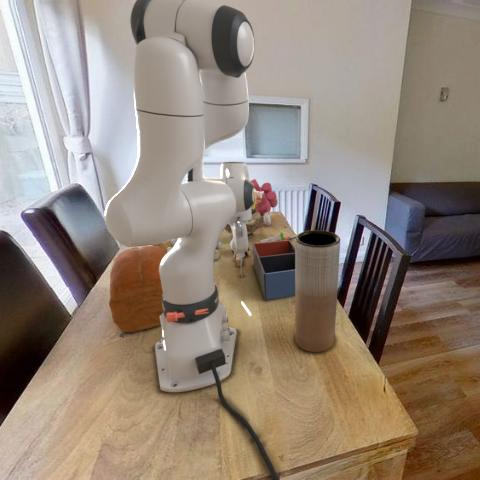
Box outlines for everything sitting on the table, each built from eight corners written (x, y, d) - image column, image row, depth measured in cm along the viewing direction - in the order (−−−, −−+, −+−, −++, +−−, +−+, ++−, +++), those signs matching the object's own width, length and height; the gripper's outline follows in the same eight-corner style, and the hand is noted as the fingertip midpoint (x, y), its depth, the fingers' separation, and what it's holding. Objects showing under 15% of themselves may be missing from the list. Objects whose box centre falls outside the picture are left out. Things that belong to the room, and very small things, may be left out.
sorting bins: (308, 293, 98) (309, 268, 95) (264, 300, 94) (263, 274, 90) (290, 261, 119) (290, 239, 116) (253, 265, 115) (252, 243, 111)
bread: (174, 276, 105) (167, 233, 99) (184, 320, 84) (176, 268, 78) (119, 287, 98) (107, 241, 92) (114, 338, 76) (99, 282, 70)
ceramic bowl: (224, 233, 151) (213, 205, 144) (258, 221, 156) (249, 193, 149) (232, 253, 130) (220, 221, 123) (272, 238, 135) (262, 207, 128)
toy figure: (254, 265, 116) (248, 247, 128) (251, 250, 113) (245, 234, 126) (234, 269, 114) (231, 251, 127) (231, 254, 111) (228, 238, 124)
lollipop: (246, 281, 104) (243, 240, 98) (229, 279, 105) (226, 238, 99) (253, 273, 109) (251, 233, 104) (237, 271, 110) (234, 232, 105)
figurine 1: (217, 236, 141) (216, 224, 138) (171, 257, 120) (169, 243, 118) (196, 230, 146) (194, 218, 143) (148, 249, 125) (146, 236, 123)
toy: (264, 238, 169) (288, 226, 172) (256, 219, 141) (285, 205, 143) (241, 197, 176) (265, 185, 178) (229, 170, 147) (257, 157, 150)
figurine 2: (226, 240, 127) (221, 252, 127) (218, 238, 132) (213, 249, 131) (209, 234, 122) (203, 246, 121) (201, 231, 126) (196, 243, 126)
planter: (325, 323, 84) (329, 228, 74) (340, 347, 76) (348, 243, 65) (290, 331, 81) (289, 232, 70) (302, 357, 72) (303, 248, 62)
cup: (256, 237, 121) (294, 230, 123) (258, 236, 129) (293, 230, 131) (260, 257, 122) (297, 249, 124) (262, 254, 130) (297, 248, 131)
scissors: (304, 233, 147) (304, 230, 146) (280, 249, 129) (280, 245, 129) (290, 231, 150) (290, 228, 149) (265, 246, 132) (265, 242, 132)
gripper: (251, 222, 90) (254, 264, 95) (243, 204, 108) (246, 240, 113) (229, 224, 88) (233, 267, 93) (225, 205, 106) (228, 242, 111)
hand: (240, 252), depth 103 cm, fingers closed on lollipop, 5 cm apart
